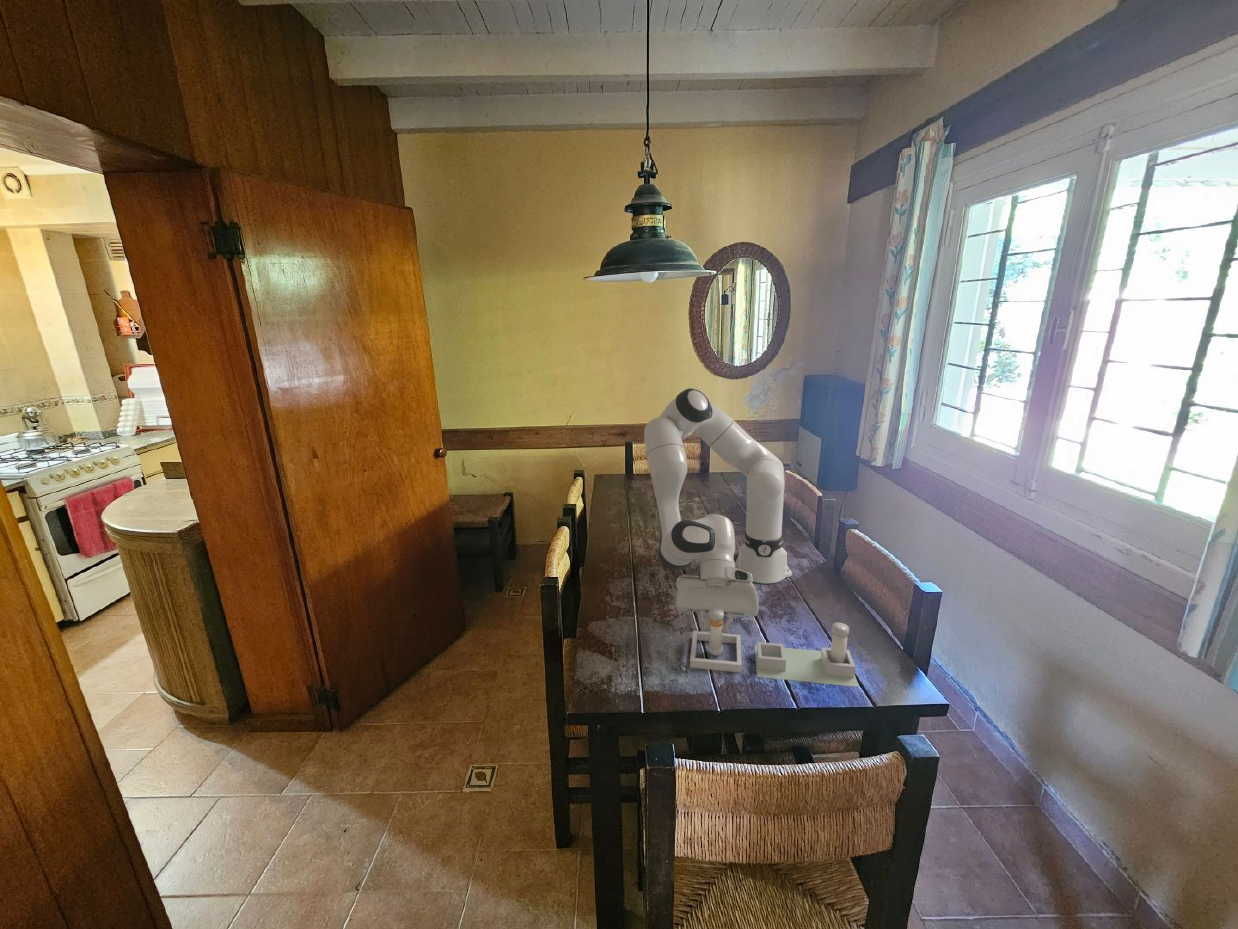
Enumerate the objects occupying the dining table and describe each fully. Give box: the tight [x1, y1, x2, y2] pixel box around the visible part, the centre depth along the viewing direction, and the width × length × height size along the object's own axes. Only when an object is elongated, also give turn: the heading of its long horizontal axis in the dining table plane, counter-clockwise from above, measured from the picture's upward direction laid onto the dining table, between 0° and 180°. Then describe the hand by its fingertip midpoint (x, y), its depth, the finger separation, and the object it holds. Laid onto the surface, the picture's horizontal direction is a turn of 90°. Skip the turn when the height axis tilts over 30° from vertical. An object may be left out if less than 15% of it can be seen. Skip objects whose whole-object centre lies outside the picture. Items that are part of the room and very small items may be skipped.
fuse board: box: [753, 641, 860, 688], centre depth 120 cm, size 12×22×4 cm, turn 78°
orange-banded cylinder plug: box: [707, 608, 725, 657], centre depth 124 cm, size 4×4×11 cm
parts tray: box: [689, 630, 743, 673], centre depth 125 cm, size 12×12×3 cm
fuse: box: [829, 622, 850, 664], centre depth 117 cm, size 4×4×11 cm
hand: (716, 631), depth 123 cm, fingers closed on orange-banded cylinder plug, 3 cm apart
